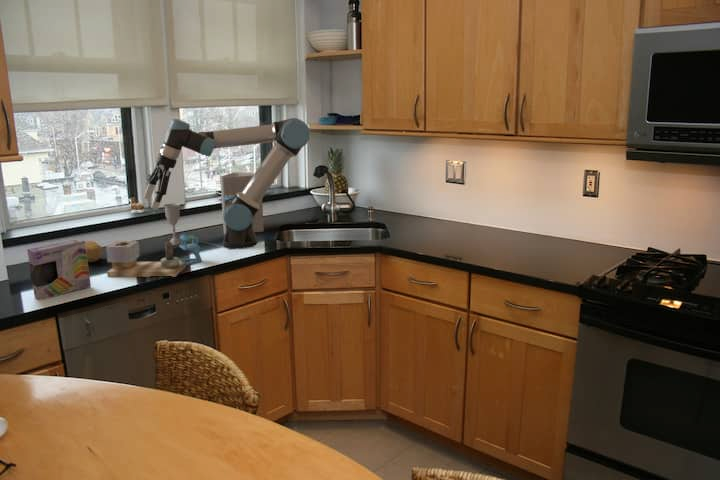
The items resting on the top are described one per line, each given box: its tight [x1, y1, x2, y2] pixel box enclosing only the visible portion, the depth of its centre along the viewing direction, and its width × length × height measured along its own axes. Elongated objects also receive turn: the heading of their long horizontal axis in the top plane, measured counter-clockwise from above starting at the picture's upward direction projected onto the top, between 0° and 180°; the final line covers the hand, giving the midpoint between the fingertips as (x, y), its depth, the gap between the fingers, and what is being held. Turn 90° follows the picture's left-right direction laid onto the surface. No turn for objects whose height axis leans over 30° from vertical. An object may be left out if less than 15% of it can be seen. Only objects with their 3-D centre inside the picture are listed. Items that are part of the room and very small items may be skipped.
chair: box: [178, 233, 203, 266], centre depth 255 cm, size 8×8×12 cm
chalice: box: [163, 202, 181, 246], centre depth 286 cm, size 7×7×18 cm
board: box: [106, 241, 187, 278], centre depth 242 cm, size 26×14×12 cm, turn 88°
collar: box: [105, 240, 141, 263], centre depth 242 cm, size 9×9×6 cm
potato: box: [85, 240, 104, 263], centre depth 258 cm, size 10×14×8 cm
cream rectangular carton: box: [220, 172, 265, 235], centre depth 310 cm, size 19×15×28 cm
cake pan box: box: [27, 238, 92, 301], centre depth 217 cm, size 19×5×18 cm, turn 138°
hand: (150, 203), depth 260 cm, fingers open, 13 cm apart
